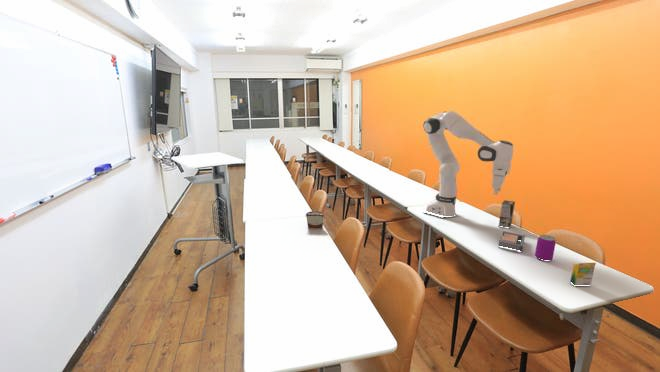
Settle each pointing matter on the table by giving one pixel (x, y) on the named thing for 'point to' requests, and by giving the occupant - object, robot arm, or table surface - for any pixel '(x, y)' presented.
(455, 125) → the robot arm
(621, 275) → the table surface
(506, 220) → the coffee box
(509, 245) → the dock bay
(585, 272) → the crayon box
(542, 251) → the beverage can
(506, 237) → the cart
